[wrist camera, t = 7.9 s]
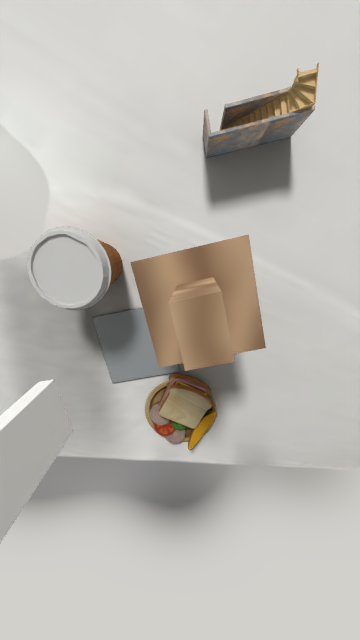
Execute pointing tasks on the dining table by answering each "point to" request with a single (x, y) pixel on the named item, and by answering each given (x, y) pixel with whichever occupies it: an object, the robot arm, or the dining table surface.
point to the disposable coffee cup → (72, 267)
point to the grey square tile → (128, 346)
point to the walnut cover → (201, 303)
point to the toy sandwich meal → (181, 409)
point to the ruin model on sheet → (263, 117)
